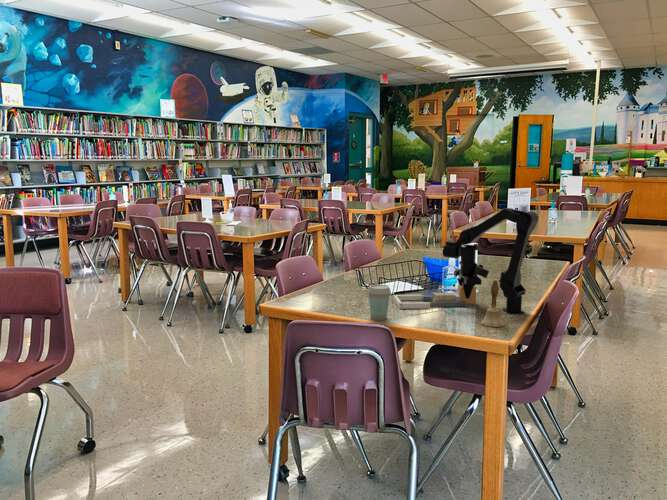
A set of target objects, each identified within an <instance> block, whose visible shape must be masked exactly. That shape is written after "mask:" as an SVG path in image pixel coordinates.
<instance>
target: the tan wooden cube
mask: <svg viewBox="0 0 667 500" xmlns="http://www.w3.org/2000/svg"><path fill="white" fill-rule="evenodd" d="M443 293H444V292H433V293H432V296H433V301H432V302H442V301H445V295H444V294H443Z"/></svg>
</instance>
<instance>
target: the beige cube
mask: <svg viewBox="0 0 667 500" xmlns="http://www.w3.org/2000/svg"><path fill="white" fill-rule="evenodd" d="M442 293H443V294H444V295H445V301H455V294H454V293H455V292H442Z"/></svg>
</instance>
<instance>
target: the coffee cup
mask: <svg viewBox="0 0 667 500" xmlns="http://www.w3.org/2000/svg"><path fill="white" fill-rule="evenodd" d="M367 293H368V301H369V304H368V305H369V313H370V319H371V320H375V321H384V320H386V319H387V316H388V309H389V301H390V294H391V288H390V286H389V285H386V284H379V283H378V284H370V285H369V286H368V289H367Z"/></svg>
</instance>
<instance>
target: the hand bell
mask: <svg viewBox="0 0 667 500" xmlns="http://www.w3.org/2000/svg"><path fill="white" fill-rule="evenodd" d="M499 288H500V286H499V282H498V280H495V279H494V280H493V281H492V284H491V287H490V295H491V304H490V307H489V308H487V309H486V313H485V315H484V318H483V319H482V320H480V321H481V322H480V324H481V325H483V326H485V327H490V328H491V327H493V328H500V327H502V328H503V327H504V326H505V322H504V321H503V320H502V317H501V311H500V309H499V308H497V298H498V295H499Z"/></svg>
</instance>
